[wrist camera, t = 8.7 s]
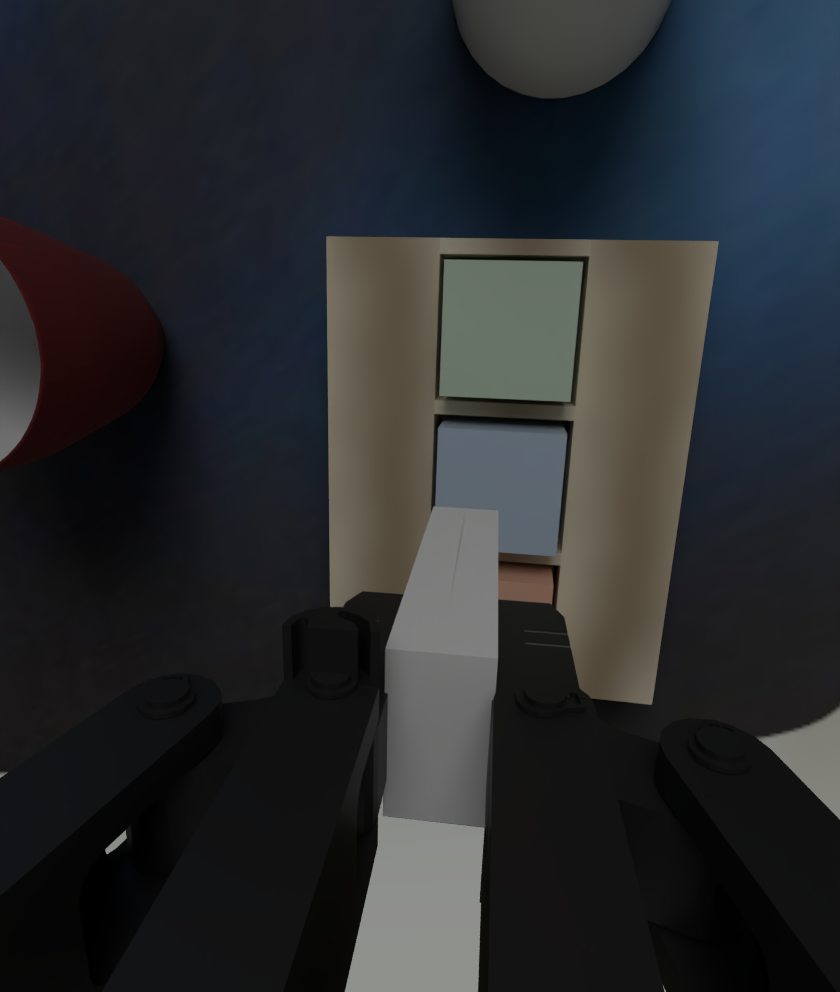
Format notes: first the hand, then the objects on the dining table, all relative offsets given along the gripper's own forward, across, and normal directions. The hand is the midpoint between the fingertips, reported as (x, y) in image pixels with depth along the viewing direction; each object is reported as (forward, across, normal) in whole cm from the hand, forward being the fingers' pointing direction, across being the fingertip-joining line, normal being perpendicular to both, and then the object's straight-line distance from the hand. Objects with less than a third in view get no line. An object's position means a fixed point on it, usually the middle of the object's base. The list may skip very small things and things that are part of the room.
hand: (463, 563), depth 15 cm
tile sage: (+11, +1, +5) cm, 12 cm away
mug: (+13, -17, +4) cm, 22 cm away
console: (+12, +1, 0) cm, 12 cm away
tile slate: (+11, +1, 0) cm, 11 cm away
